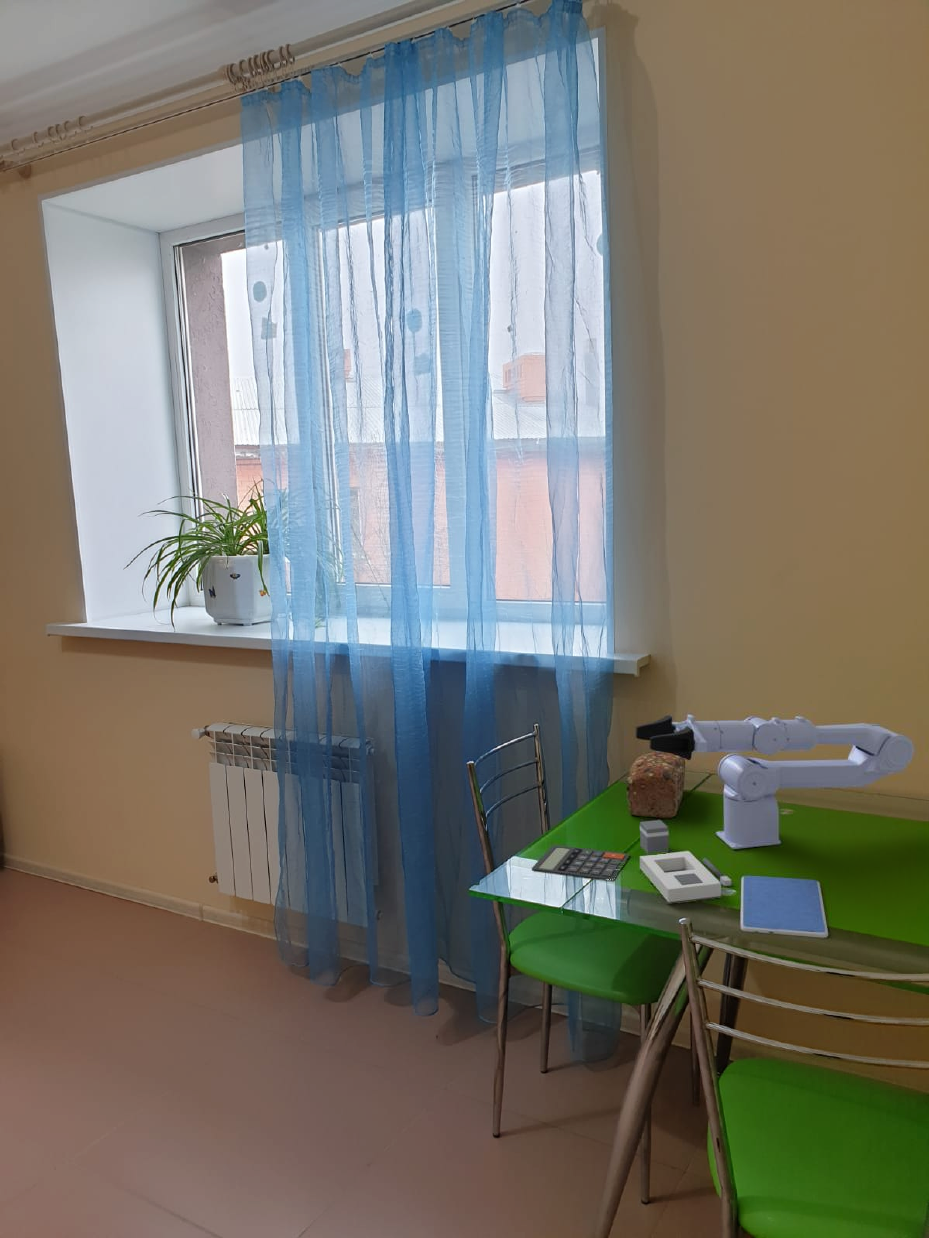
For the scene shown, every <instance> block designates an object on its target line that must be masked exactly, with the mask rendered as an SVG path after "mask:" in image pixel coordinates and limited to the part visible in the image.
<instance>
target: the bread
mask: <svg viewBox="0 0 929 1238" xmlns="http://www.w3.org/2000/svg"><path fill="white" fill-rule="evenodd" d="M628 771H629V773H628V777H627V779H626V801H628V805H627V806H628V811H629V814H631V815H633V816H637V817H647V818H650V817H651V818H661V819H662V818H664V819H672V818H673V817H676V815H677V811H678V810H679V807H680V803H681V802H682V797H683V793H684V789H685V778H686V775H685V774H686V759H685V758H683V757H680V756H677V755H674V754H670V753H665V752H660V751H649V752H647V753H645V754H644V755H641V756H638V757H637V758H636V759H635V760H634V761H633V764H632V765H631V767H630V768H629V770H628Z"/></svg>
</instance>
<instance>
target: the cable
mask: <svg viewBox="0 0 929 1238" xmlns="http://www.w3.org/2000/svg"><path fill="white" fill-rule="evenodd" d="M702 863H703V864H704V865H705V867H707V868H708V869H709V870H710V871H711V873H713V874H714V875H715V877H717V879H718V880H719V882H720V883H721V885H723V886H724V887H728V886H732V879H731V878H729V877H728V875H724V874H723V873H722V872H721V871H720V870H719V869H718V868H717V867H716V866H715V865H713V863H711V862H710V860H708V858H706V857H703V858H702Z"/></svg>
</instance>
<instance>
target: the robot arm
mask: <svg viewBox="0 0 929 1238" xmlns="http://www.w3.org/2000/svg"><path fill="white" fill-rule="evenodd" d="M635 738H636V739H638V740H643V741H649V749H650V750H652V751H654V752H657V751H659V752H665V753H670V754H674V755H677V756H680V757H683V758H684V759H685V760H687V761H691V759H692V756H693V754H707V753H727V752H728V753H729V754H727V755H725V756H724V757H723V758H722V759H721V760H720V761H719V764H718V767H717V774H718V777H719V779H720V781H721V782H722V783H723V784H724V785H723V830H721V831H720V830H719V831H716V832H715V835H716V836H717V837H718V838H720V839H721V840H722V841H723V842H724V843H725V844H726V845H727V846H728V847H730V848H731V849H732V850H739V849H748V848H754V847H755V848H758V847H763V846H774V845H781V843H782V842H781V840H780V839H779V838H780V837H779V836H780V834H779V833H780V831H779V830H780V823H779V822H780V820H779V819H780V818H779V817H780V815H779V814H780V813H779V812H780V811H779V805H778V801H777V799H776V797H775V794H776V793H777V790H779V789H780V790H781V789H783V790H784V789H785V790H787V789H817V788H818V789H821V788H822V789H823V788H824V789H826V788H828V789H829V788H830V789H831V788H863V787H867V786H869V785H871V784H873V783H875V782H877V781H879V780H880V779H883V778H884V777H887V776H888V775H890V774H891V775H892V774H896V773H902V772H903V771H904V769H906V767H907V766H908V765H909V764H910V762H911V761H912V759H913V756H914V754H915V746H914V743H913V742H912V740H911V739H910V738H909V737H908V736H906V735H902V734H899V733H896V732H894V731H892V730H890V729H887V728H885V727H883V725H881V724H878V723H870V724H869V723H865V722H860V723H848V724H831V725H828V724H827V725H815V724H814V723H813V722H812V721H811V720H809V719H806V717H803V716H799V715H798V716H795V717H794V719H780V718H778V717H772V718H771V719H770V720H768V721H767V720H766V719H763V718H761V717H757V716H755V715H752V716H749V717H747V718H745V720H695V716H694V715H692V714H687V716H686V720H683V721H679V722H677V721H673V716H671V715H665V716H663V717H662V718H661V719H658V720H655V721H653V722H650V723H649V722H648V723H645V724H642V725H638V726H636V727H635ZM816 745H838V746H839V745H841V746H852V748H851V750H850V753H849V754H848V756H847V757H848V758H846V759H825V760H824V759H819V760H817V759H816V760H815V759H814V760H812V759H810V760H806V759H805V760H803V759H802V760H767V759H762V758H758V757H747V756H744V755H743V754H741V753H737V752H749V751H750V752H752V751H754V750H755V751H756V752H757V753H760V754H763V755H767V756H773V755H775V754H776V753H778V752H779V751H780V752H781V751H782V752H787V751H789V752H791V751H801V752H802V751H803V752H804V751H811V750H813V749H814V748H815V746H816ZM735 752H736V753H735Z"/></svg>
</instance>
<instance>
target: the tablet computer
mask: <svg viewBox="0 0 929 1238" xmlns="http://www.w3.org/2000/svg"><path fill="white" fill-rule="evenodd" d="M740 881H741V883H740V885H741V886H740V916H739V917H740V920H739V921H740V929H741V931H743V932H749V933H761V934H774V935H775V934H776V935H783V936H784V935H787V936H800V937H810V938H811V937H812V938H822V939H823V938H827V937H828V936H829V932H828V931H829V930H828V925H827V919H826V914H825V913H826V912H825V907H824V902H823V901H824V900H823V896H822V895H823V894H822V890H821V884H820V882H819V881H818V880H815V879H805V878H789V877H788V878H787V877H774V876H773V877H772V876H758V875H757V876H756V875H754V876H753V875H744V876H742V877H741V880H740Z"/></svg>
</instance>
